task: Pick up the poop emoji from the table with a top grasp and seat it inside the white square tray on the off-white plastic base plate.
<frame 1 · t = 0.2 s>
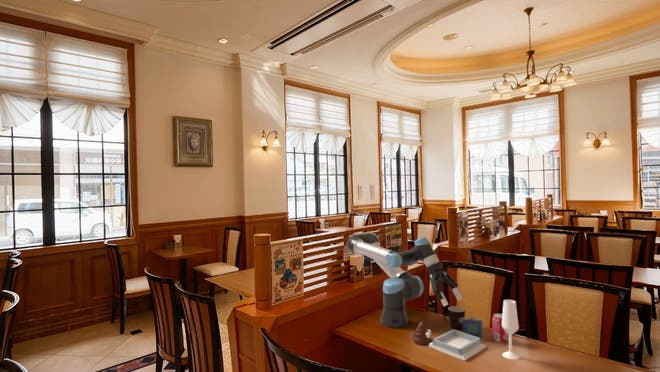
hand: (453, 302, 183), 15 cm above the table, tool tilted 35°, fingers open, 13 cm apart
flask: (472, 337, 177), on the table
soda can: (500, 340, 172), on the table
champagne flute: (510, 356, 157), on the table
white square tray: (456, 347, 166), on the table
poop emoji: (422, 341, 174), on the table
coffee mug: (453, 328, 188), on the table
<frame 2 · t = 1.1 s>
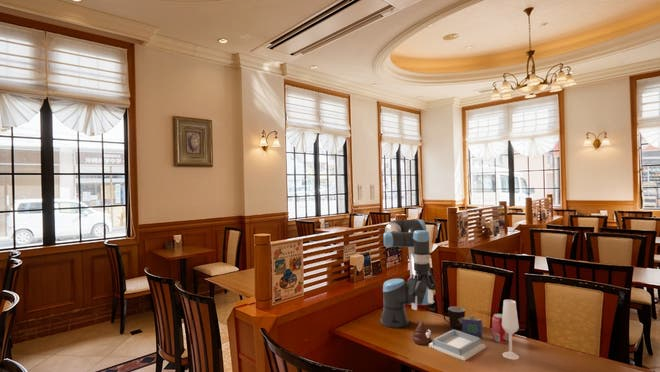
hand: (422, 306, 174), 17 cm above the table, tool pointing down, fingers open, 13 cm apart
nothing on the table moved.
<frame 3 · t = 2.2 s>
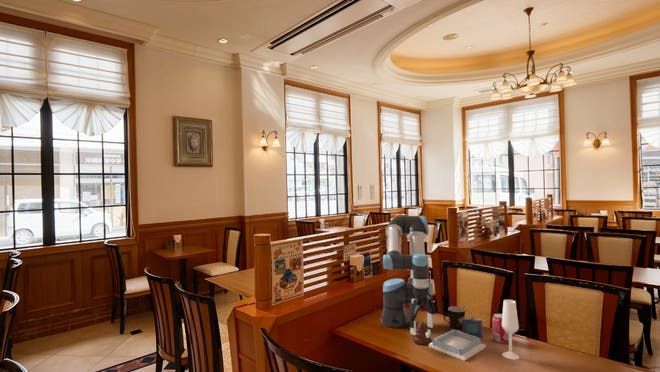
hand: (421, 330, 173), 5 cm above the table, tool pointing down, fingers open, 13 cm apart
nothing on the table moved.
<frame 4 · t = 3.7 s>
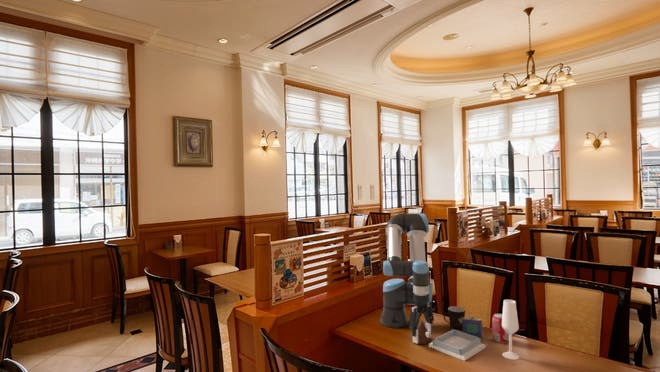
hand: (422, 339, 174), 1 cm above the table, tool pointing down, fingers closed on poop emoji, 10 cm apart
poop emoji: (421, 341, 174), on the table, touching gripper
everything else where it was.
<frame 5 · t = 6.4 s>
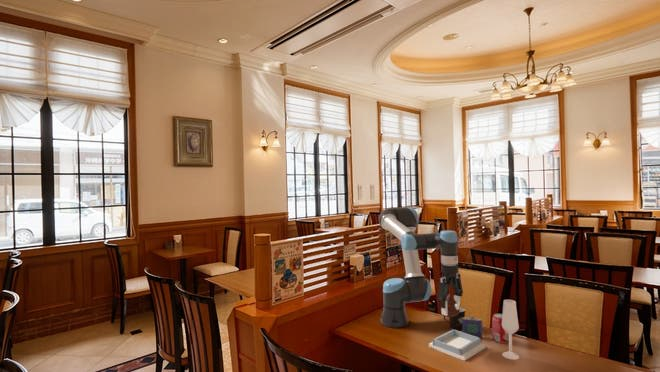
hand: (451, 312, 166), 16 cm above the table, tool pointing down, fingers closed on poop emoji, 10 cm apart
poop emoji: (450, 314, 166), point 15 cm above the table, touching gripper
everything else where it was.
when the fingers open (4 cm above the table, at t = 9.1 s): poop emoji drops 2 cm, resting on white square tray.
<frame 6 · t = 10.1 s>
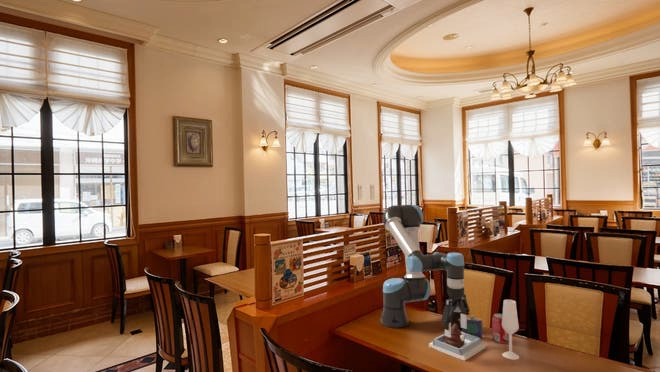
hand: (456, 332, 166), 7 cm above the table, tool pointing down, fingers open, 13 cm apart
poop emoji: (455, 344, 166), point 1 cm above the table, touching white square tray
everything else where it was.
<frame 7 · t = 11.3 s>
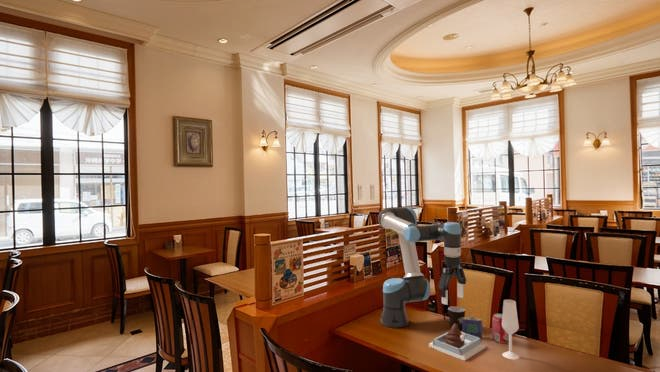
hand: (452, 300, 168), 21 cm above the table, tool pointing down, fingers open, 13 cm apart
nothing on the table moved.
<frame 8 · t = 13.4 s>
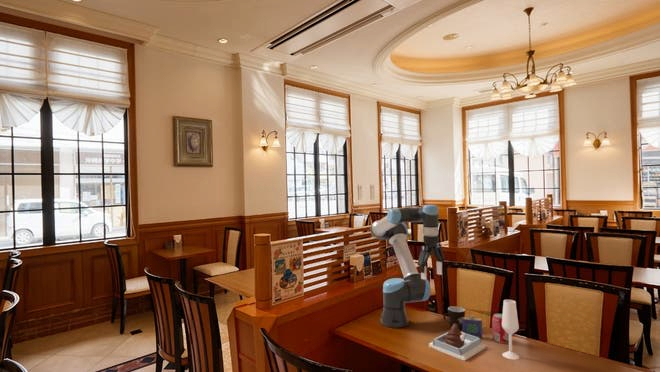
hand: (431, 276, 183), 29 cm above the table, tool pointing down, fingers open, 13 cm apart
nothing on the table moved.
at the end: poop emoji inside the target area on the white square tray (0.6 cm from its centre), point 1.3 cm above the white square tray's base; poop emoji tilted 0°; the gripper is holding nothing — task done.
